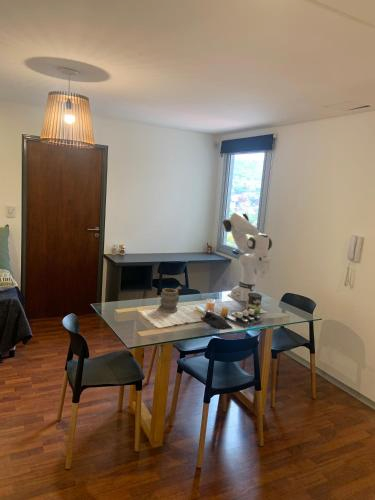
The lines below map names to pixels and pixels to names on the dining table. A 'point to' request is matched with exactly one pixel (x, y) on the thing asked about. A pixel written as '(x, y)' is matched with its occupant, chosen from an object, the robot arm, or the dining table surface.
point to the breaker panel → (243, 319)
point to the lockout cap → (224, 312)
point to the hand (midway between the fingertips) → (258, 276)
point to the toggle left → (239, 314)
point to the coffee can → (254, 302)
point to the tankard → (169, 300)
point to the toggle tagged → (245, 313)
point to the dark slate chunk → (215, 320)
